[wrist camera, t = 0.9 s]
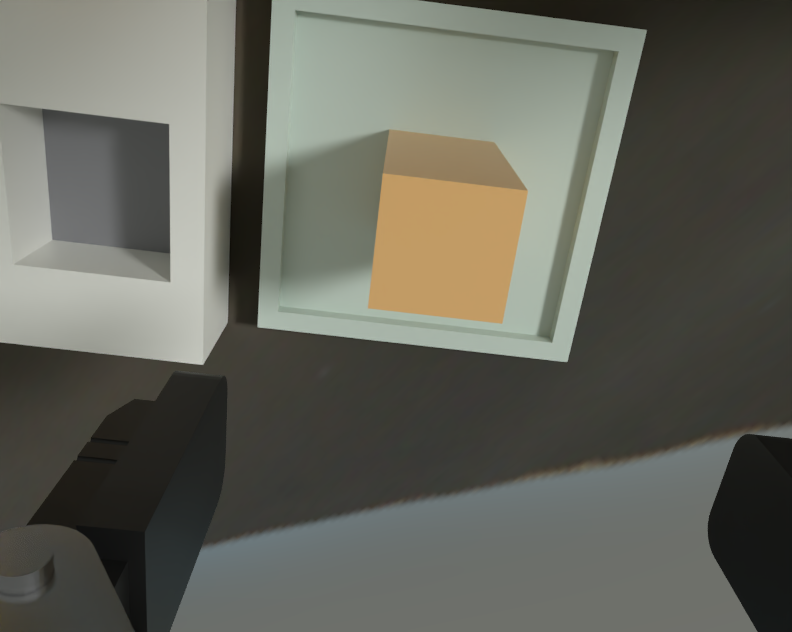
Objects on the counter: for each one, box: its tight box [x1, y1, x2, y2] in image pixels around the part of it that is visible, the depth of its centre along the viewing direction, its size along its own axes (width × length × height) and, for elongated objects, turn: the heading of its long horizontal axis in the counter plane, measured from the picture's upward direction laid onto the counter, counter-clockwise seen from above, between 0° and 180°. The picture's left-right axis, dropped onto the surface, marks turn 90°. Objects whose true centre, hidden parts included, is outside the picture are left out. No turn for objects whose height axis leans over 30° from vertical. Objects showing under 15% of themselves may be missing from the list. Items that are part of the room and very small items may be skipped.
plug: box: [368, 129, 528, 324], centre depth 24 cm, size 4×4×8 cm
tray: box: [258, 0, 647, 362], centre depth 27 cm, size 13×13×1 cm
